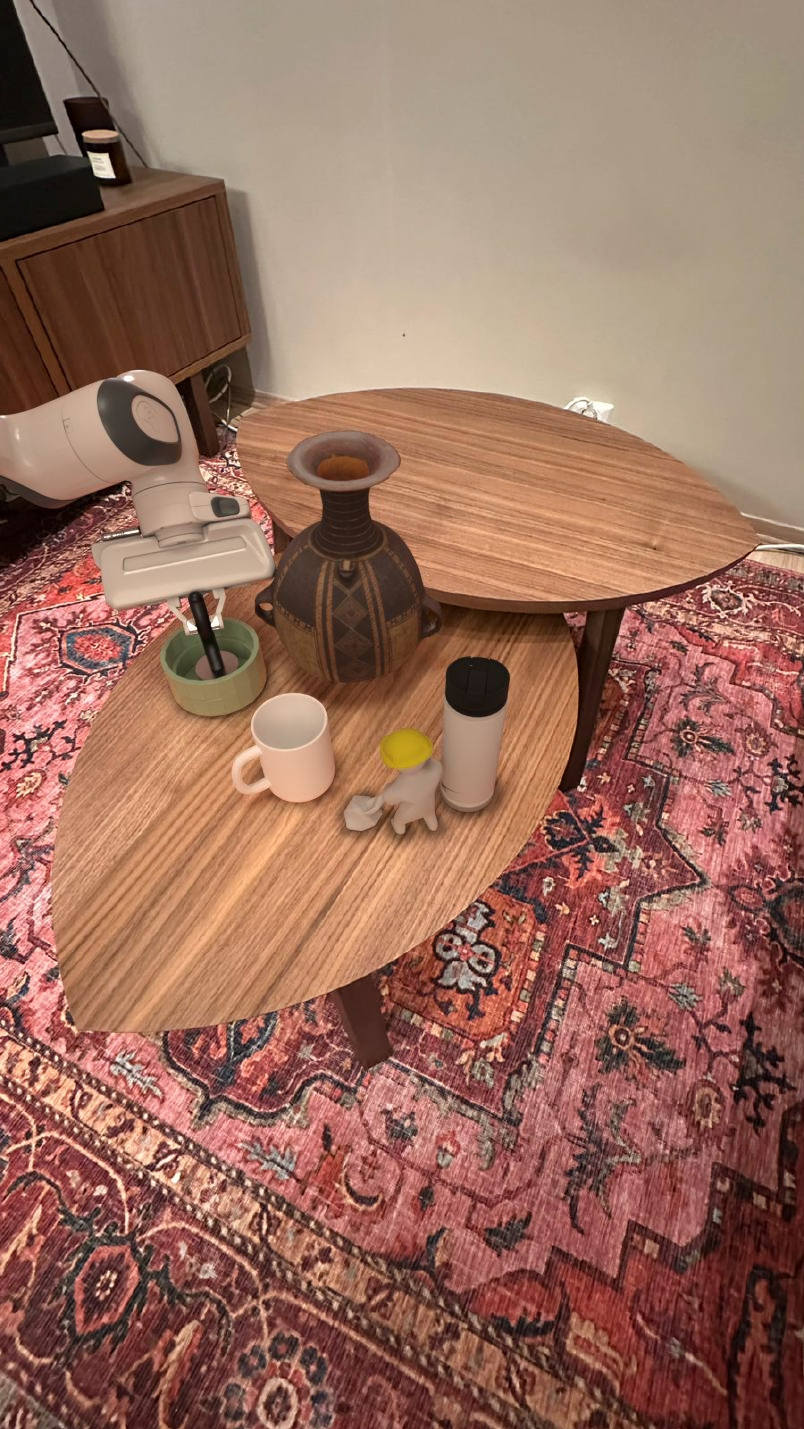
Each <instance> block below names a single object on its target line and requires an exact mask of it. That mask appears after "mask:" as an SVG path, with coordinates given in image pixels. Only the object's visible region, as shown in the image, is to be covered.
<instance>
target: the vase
mask: <svg viewBox="0 0 804 1429" xmlns="http://www.w3.org/2000/svg"><path fill="white" fill-rule="evenodd" d="M401 462H402V458H401V455H400V453H399V451H398V450H397V449H396V448H395V446H394V445H392V444H391V443H390V442H388V441H387V440H385V438H381V437H377V436H376V435H374V434H371V433H369V432H365V431H360V430H353V429H349V430H346V429H345V430H341V431H340V430H337V431H334V430H331V431H326V432H322V433H319V434H316V435H313V436H310V437H306V438H304V439H302V440H301V441H299V442H298V443H297V444H296V446H294V447H293V449H291V451H290V452H289V453H288V454H287V457H286V459H285V464H286V469H287V470H288V471H289V472H290V473H291V474H292V475H293V476H294V477H295V479H297V480H298V481H300V482H301V483H302V484H303V485H305V486H309V487H313V488H315V489H318V490H319V494H320V499H321V504H322V508H321V509H322V510H321V519H320V520H318V521H316V522H314V523H312V524H310V525H309V526H307V527H305V528H304V529H303V530H302V531H300V532H299V533H297V535H296V536H295V537H294V538H293V539H291V541H290V542H289V544H288V545H287V546H286V548H285V550H284V552H283V554H282V555H281V558H280V559H279V561H278V564H277V565H276V572H275V576H274V578H273V579H272V580H271V583H270V584H269V585H268V586H266V587H264V588H263V589H262V590H261V591H260V592H259V593H257V594H256V596H255V598H254V614H255V616H257V617H258V618H259V619H261V620H262V621H263V622H264V623H266V625H268V626H270V627H273V628H274V629H275V631H276V633H277V636H278V638H279V641H280V643H281V645H282V647H283V648H284V650H285V652H286V653H287V655H288V656H289V657H290V659H291V660H292V661H293V662H294V664H295V665H297V666H298V667H299V668H301V670H303V671H304V672H306V673H308V674H310V675H311V676H313V677H317V678H320V679H323V680H326V681H331V682H337V683H342V684H356V683H362V682H367V681H373V680H377V679H379V678H382V677H384V676H387V675H389V674H392V672H394V671H396V670H398V668H400V667H401V666H402V665H404V664H406V662H408V660H409V659H411V656H413V654H414V653H415V652H416V650H417V648H418V646H419V644H420V642H421V641H422V640H424V639H426V638H431V637H432V636H434V635H435V634H436V633H439V632H440V630H441V628H442V626H443V611H442V606H441V604H440V602H439V601H438V600H437V599H434V598H433V597H431V596H430V594H428V592H427V591H426V589H425V585H424V582H423V578H422V574H421V570H420V568H419V565H418V563H417V561H416V558H415V556H414V555H413V553H412V551H411V549H410V547H409V546H408V545H407V543H406V541H405V540H404V539H403V537H401V536H400V535H399V534H398V533H397V532H396V531H395V530H394V529H393V528H391V527H389V526H388V525H386V524H385V523H382V522H380V521H377V520H375V519H372V516H371V511H370V497H369V496H370V490H371V488H372V487H375V486H377V485H381V484H383V483H384V482H386V481H387V480H389V478H390V477H391V475H392V474H394V473H395V472H396V471H398V469H399V468H400V466H401ZM262 604H269V605H270V606H271V607H272V608H271V609H267V610H266V609H264V608H262V606H261V605H262ZM428 611H430V612H431V613H433V614H435V616H436V617H437V619H436V620H435V621H434V622H431V621H430V620H429V619H428V616H427V612H428Z"/></svg>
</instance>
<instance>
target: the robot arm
mask: <svg viewBox="0 0 804 1429" xmlns="http://www.w3.org/2000/svg"><path fill="white" fill-rule="evenodd" d="M199 453H200V452H199V448H198V443H197V440H196V436H195V433H194V430H193V427H192V423H191V420H190V417H189V414H188V412H187V409H186V406H185V403H184V401H183V399H182V397H181V394H180V393H179V391H178V389H177V387H176V385H175V384H174V383H173V381H172V380H171V379H169V378H168V377H167V376H165V375H162V374H160V373H158V372H155V371H152V370H145V369H135V370H134V369H133V370H129V371H125V372H122V373H121V374H119V375H117V376H115V377H109V378H105V379H100V380H97V381H95V382H92V383H90V384H87V385H84V386H82V387H80V388H77V389H75V390H72V391H71V392H69V393H67V394H65V395H62V396H60V397H57V398H55V399H53V400H50V401H48V402H45V403H43V404H41V405H39V406H36V407H34V408H31V409H28V410H24V411H21V412H18V413H13V414H6V415H5V414H3V415H1V414H0V484H1V485H3V486H5V487H6V488H7V489H10V490H11V491H13V492H14V493H15V494H17V495H18V496H20V497H21V498H23V499H25V500H26V501H27V502H30V503H31V504H34V505H36V506H38V507H42V508H45V509H60V508H62V507H65V506H66V505H69V504H71V503H73V502H75V501H77V500H79V499H81V498H83V497H84V496H86V495H90V494H92V493H95V492H97V491H100V490H104V489H106V488H109V487H112V486H114V485H117V484H119V483H121V482H124V481H126V482H130V483H131V499H132V500H131V501H132V505H133V508H134V512H135V516H136V519H137V522H138V525H134V526H131V527H124V528H123V529H118V530H108V531H104V532H101V533H100V536H98V537H97V538H95V539H94V541H93V542H92V544H91V545H90V546H91V547H90V552H91V556H92V559H93V563H94V565H95V567H96V568H97V569H98V570H99V571H100V576H101V578H100V579H101V584H102V590H103V591H102V592H103V595H104V599H105V602H106V604H107V606H109V607H110V608H111V609H112V610H115V611H117V612H125V611H129V610H134V609H139V608H144V607H149V606H154V605H159V604H163V603H167V607H168V609H169V610H170V611H171V613H172V614H173V615H174V616H175V617H177V619H178V620H179V621H180V622H181V623H182V627H183V626H184V630H185V634H186V636H191V635H195V634H199V632H198V629H197V626H196V623H195V620H194V618H191V619H190V618H189V619H188V618H187V617H186V616H185V615H184V614H183V613H182V612H181V611H180V609H183V603H182V600H184V599H188V595H189V593H190V592H192V591H198V592H200V593H201V594H202V595H203V596H204V595H207V594H212V595H213V598H214V600H215V601H216V602H217V607H216V610H215V613H213V614H209V618H210V621H211V622H212V623H211V627H212V630H213V631H214V630H219V629H224V628H225V626H224V622H223V618H222V617H223V614H224V611H225V607H226V604H227V599H228V597H227V594H226V590H231V589H237V588H241V587H246V586H251V585H252V586H253V585H257V584H261V583H265V582H272V581H273V580H274V576H275V572H276V569H277V565H276V561H275V558H274V554H273V552H272V549H271V546H270V544H269V541H268V539H267V536H266V534H265V531H264V530H263V528H262V526H261V525H260V523H258V522H257V521H256V520H254V519H253V514H252V513H253V512H252V507H251V505H250V503H249V500H247V499H246V497H245V498H244V497H241V496H234V495H226V494H219V493H212V492H210V491H209V488H208V484H207V482H206V480H205V477H203V475H202V472H201V470H200V462H199V459H200V458H199V457H200V454H199Z"/></svg>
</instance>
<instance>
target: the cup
mask: <svg viewBox="0 0 804 1429" xmlns="http://www.w3.org/2000/svg"><path fill="white" fill-rule="evenodd" d="M250 731H251V734H252V738H253V742H254V745H253V746H250V747H248V748H247V749H245V750H243V751H241V752H240V753H239V754H238V755H237V756H235V759H234V760H233V762H232V765H231V781H232V784H233V786H234V788H235V789H236V791H238V792H239V793H240V794H243V795H249V796H250V795H256V794H259V793H262V792H263V791H266V790H267V789H269V791H271V793H272V794H273V795H275V796H276V797H277V798H279V799H280V800H283V801H286V802H289V803H307V802H310V801H313V800H315V799H317V798H319V797H320V796H322V795H323V794H324V793H326V791H328V789H329V788H330V786H331V785H332V783H333V781H334V779H335V774H336V773H335V772H336V763H335V758H334V757H335V756H334V750H333V744H332V738H331V731H330V724H329V717H328V713H327V710H326V708H325V706H324V705H323V703H321V701H320V700H318V699H317V698H315V697H313V696H311V695H308V694H306V693H300V692H286V693H282V694H278V695H275V696H272V697H271V698H269V699H267V700H266V701H264V702H263V703H261V704H260V705H259V706H258V708H256V710H255V711H254V713H253V716H252V718H251V721H250ZM257 758H258V759H259V763H260V766H261V769H262V773H263V776H264V777H262V778H261V779H259V780H257V781H255V782H253V783H251V784H246V783H245V781H244V779H243V776H242V775H243V774H242V772H243V767H244V765H246V764H247V763H248V762H250V761H253V760H255V759H257Z"/></svg>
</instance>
